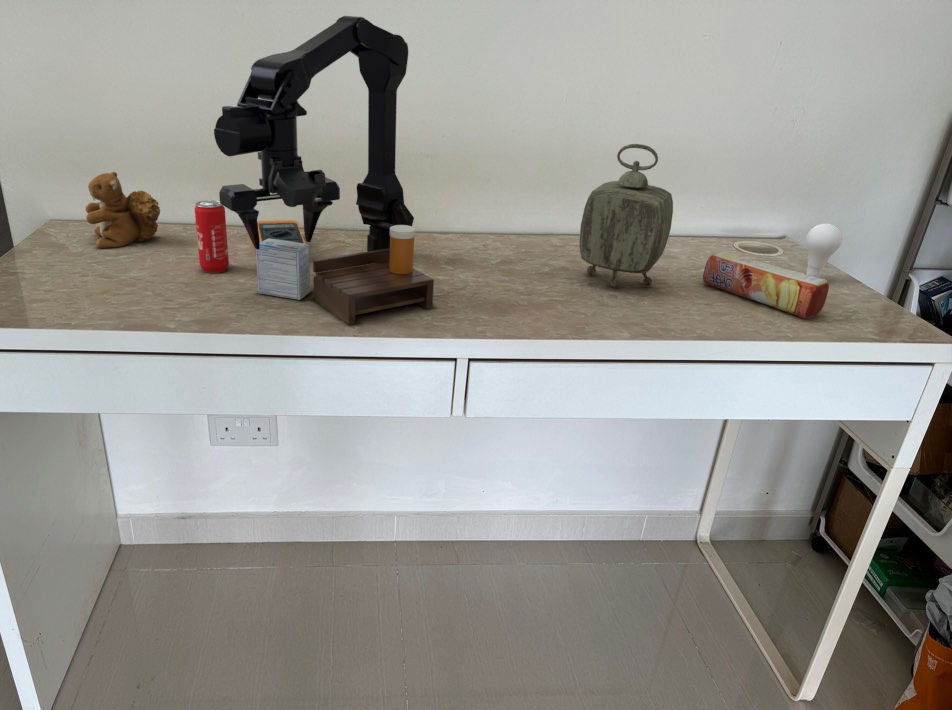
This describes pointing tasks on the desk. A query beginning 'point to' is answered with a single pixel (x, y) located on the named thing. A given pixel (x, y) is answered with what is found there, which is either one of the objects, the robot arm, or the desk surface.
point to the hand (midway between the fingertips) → (283, 245)
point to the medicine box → (283, 268)
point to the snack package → (767, 284)
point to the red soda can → (211, 236)
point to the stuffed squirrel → (120, 213)
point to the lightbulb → (821, 247)
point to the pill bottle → (401, 249)
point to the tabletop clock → (626, 223)
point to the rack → (367, 285)
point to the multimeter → (280, 231)
